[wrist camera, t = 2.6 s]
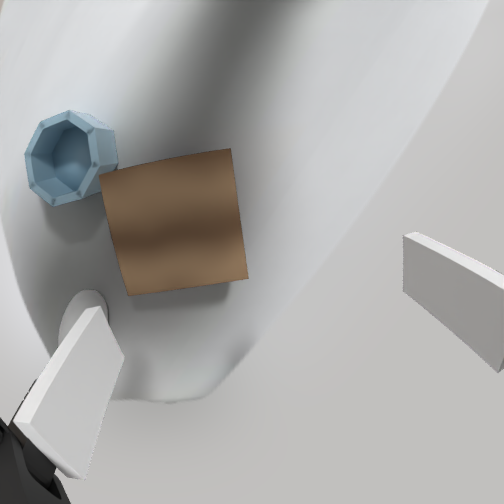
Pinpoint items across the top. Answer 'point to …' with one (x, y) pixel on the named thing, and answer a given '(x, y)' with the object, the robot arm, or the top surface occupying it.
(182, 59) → the top surface
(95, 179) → the bowl
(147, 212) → the board
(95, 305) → the donut
